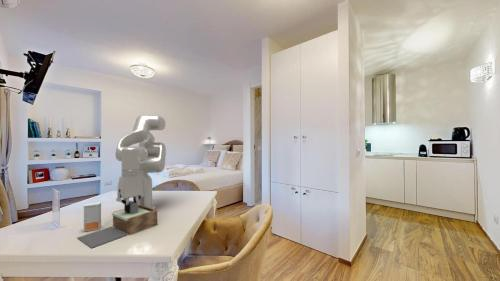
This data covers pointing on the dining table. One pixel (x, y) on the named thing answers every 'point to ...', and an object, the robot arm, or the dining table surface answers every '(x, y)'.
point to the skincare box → (92, 216)
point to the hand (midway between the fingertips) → (131, 211)
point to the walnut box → (136, 221)
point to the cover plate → (126, 215)
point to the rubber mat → (101, 237)
